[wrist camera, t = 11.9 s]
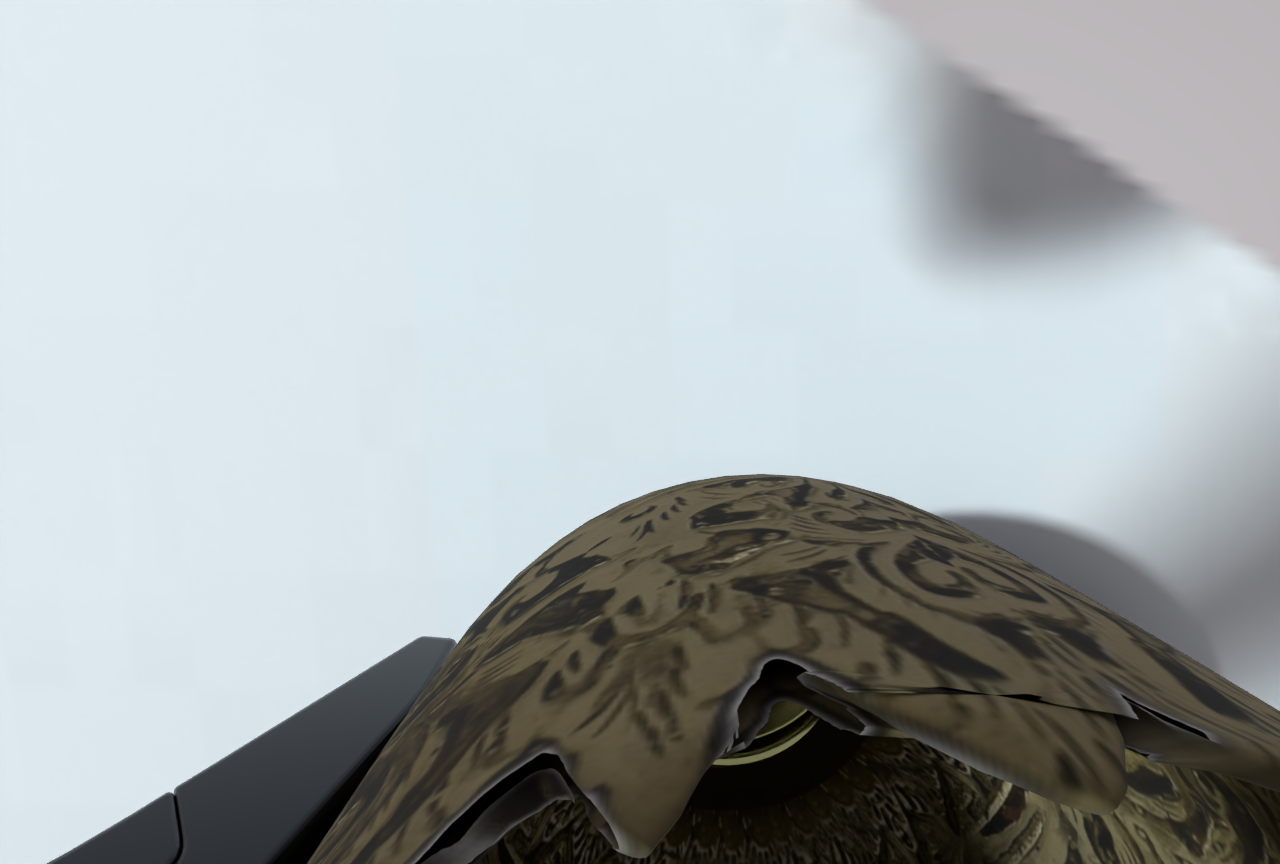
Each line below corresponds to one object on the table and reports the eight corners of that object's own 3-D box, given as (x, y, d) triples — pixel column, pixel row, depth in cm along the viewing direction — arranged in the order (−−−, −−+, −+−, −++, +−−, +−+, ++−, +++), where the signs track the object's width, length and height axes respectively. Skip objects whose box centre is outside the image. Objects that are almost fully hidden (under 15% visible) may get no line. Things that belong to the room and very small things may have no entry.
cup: (509, 290, 10) (25, 568, 2) (1050, 417, 10) (2384, 1031, 2) (418, 773, 12) (-9, 1897, 4) (877, 858, 12) (1321, 1986, 4)
